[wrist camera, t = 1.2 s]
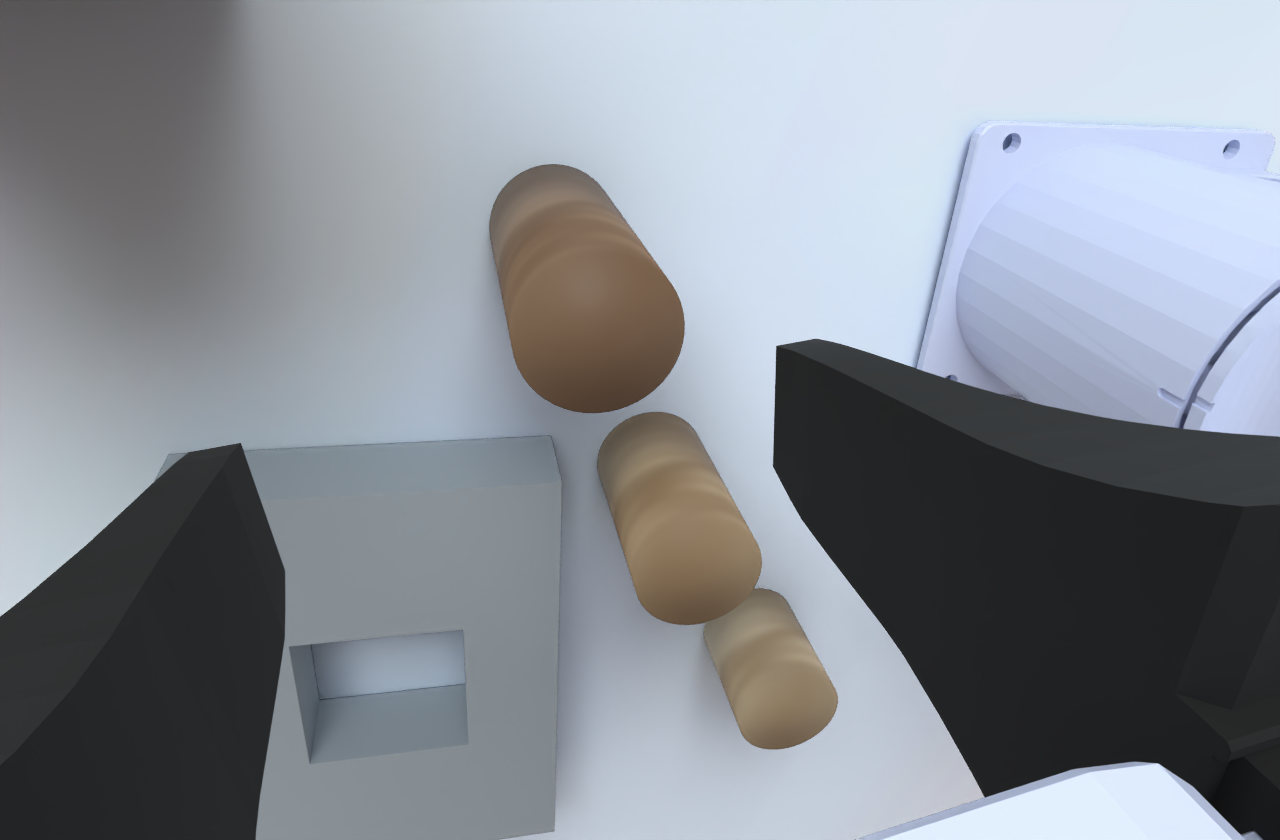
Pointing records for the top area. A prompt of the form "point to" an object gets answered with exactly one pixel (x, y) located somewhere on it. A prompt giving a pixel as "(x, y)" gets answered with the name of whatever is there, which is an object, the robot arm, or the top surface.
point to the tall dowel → (581, 293)
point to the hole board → (406, 605)
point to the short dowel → (770, 672)
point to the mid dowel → (676, 521)
